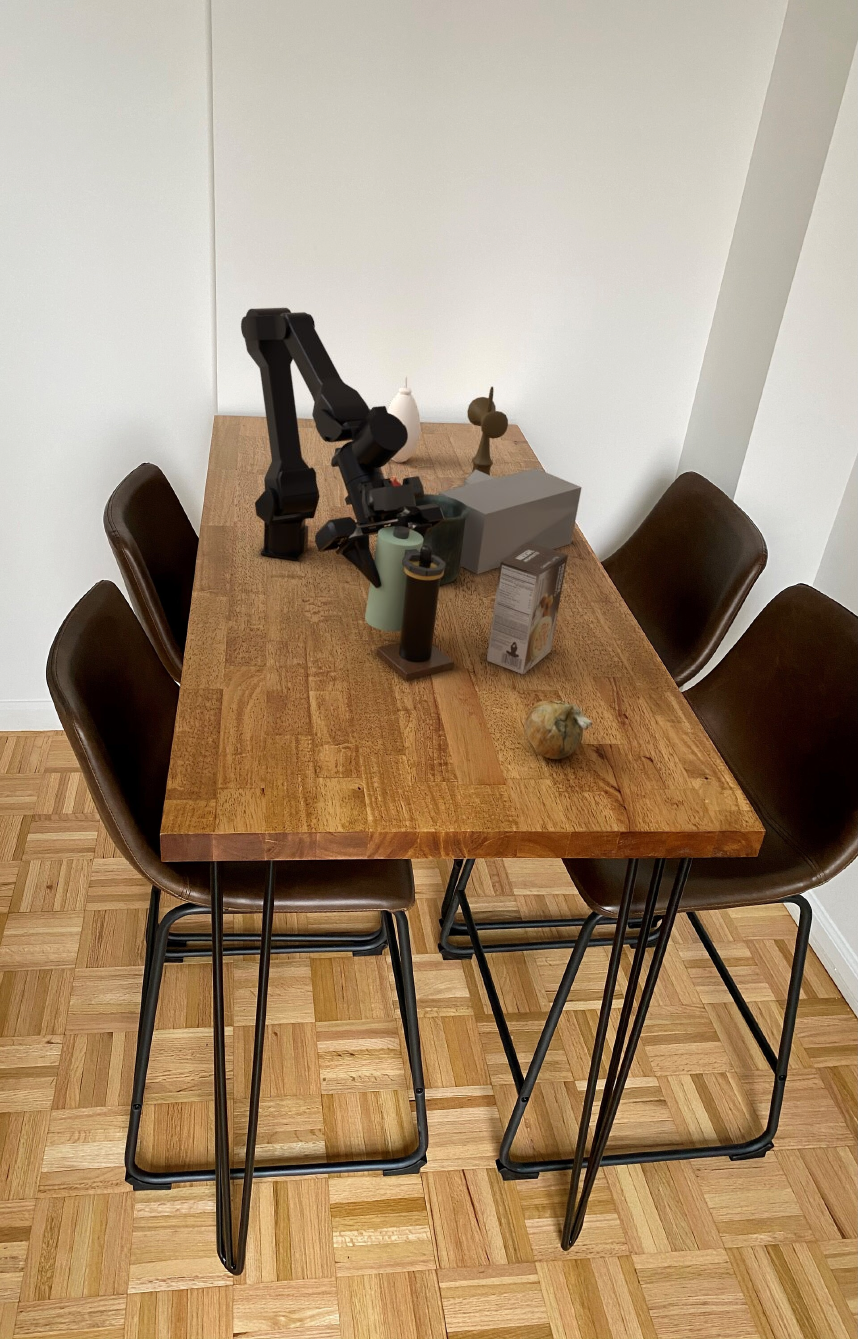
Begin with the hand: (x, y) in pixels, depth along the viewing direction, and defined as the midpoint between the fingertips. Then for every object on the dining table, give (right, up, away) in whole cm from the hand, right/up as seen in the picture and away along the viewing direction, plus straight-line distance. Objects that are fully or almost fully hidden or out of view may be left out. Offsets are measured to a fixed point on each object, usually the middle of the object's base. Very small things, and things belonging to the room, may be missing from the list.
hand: (399, 583), depth 148 cm
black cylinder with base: (+2, -11, +1) cm, 11 cm away
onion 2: (+20, -23, -15) cm, 33 cm away
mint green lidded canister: (0, -7, +2) cm, 7 cm away
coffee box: (+17, -11, +6) cm, 21 cm away
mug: (+2, +4, +27) cm, 27 cm away
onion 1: (-3, +16, +47) cm, 49 cm away
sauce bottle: (-2, +32, +74) cm, 80 cm away
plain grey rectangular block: (+13, +12, +43) cm, 47 cm away
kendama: (+15, +26, +67) cm, 73 cm away
